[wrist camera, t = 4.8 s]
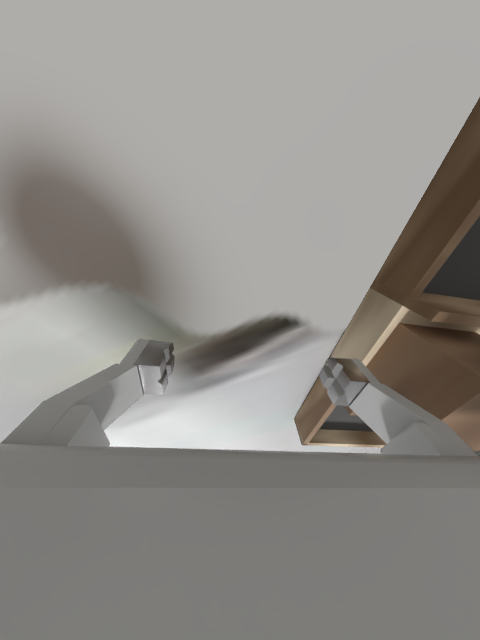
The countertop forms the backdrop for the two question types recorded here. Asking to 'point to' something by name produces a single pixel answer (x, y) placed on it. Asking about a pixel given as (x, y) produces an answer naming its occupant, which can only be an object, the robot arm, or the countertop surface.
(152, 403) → the countertop surface
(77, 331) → the countertop surface
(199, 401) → the countertop surface
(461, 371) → the walnut block
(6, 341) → the countertop surface
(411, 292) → the box
